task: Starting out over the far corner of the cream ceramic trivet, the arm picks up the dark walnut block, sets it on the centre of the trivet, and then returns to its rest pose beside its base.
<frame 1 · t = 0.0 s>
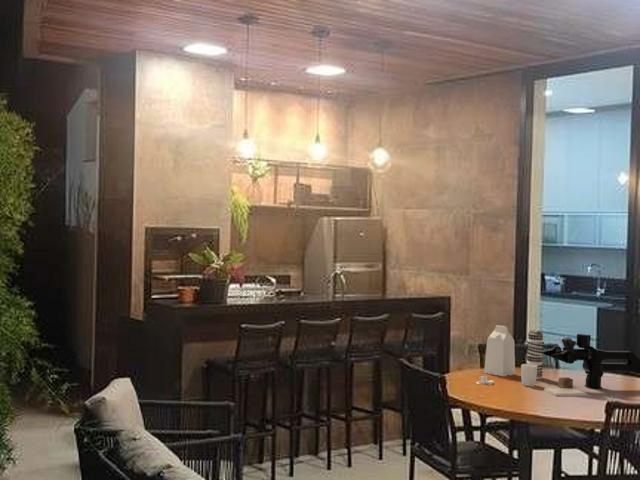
hand: (547, 354, 393), 17 cm above the table, tool horizontal, fingers open, 9 cm apart
teacup and saucer: (488, 385, 396), on the table
trivet: (565, 393, 380), on the table
decorative candle: (534, 377, 420), on the table
walnut block: (565, 388, 393), on the table
milk: (499, 374, 428), on the table
white cup: (528, 385, 398), on the table
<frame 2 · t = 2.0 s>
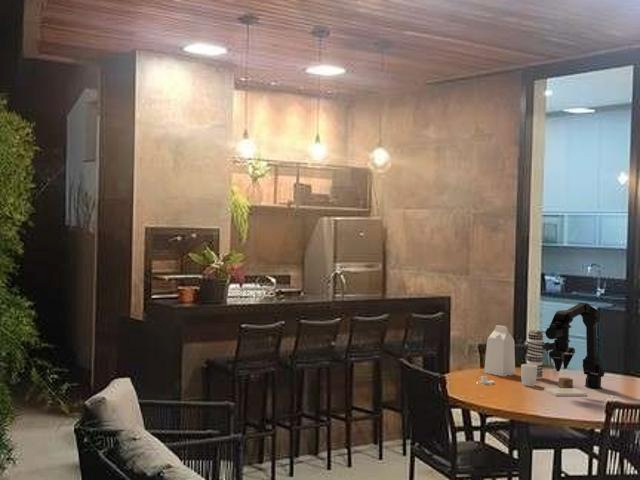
hand: (561, 370, 378), 12 cm above the table, tool pointing down, fingers open, 9 cm apart
nothing on the table moved.
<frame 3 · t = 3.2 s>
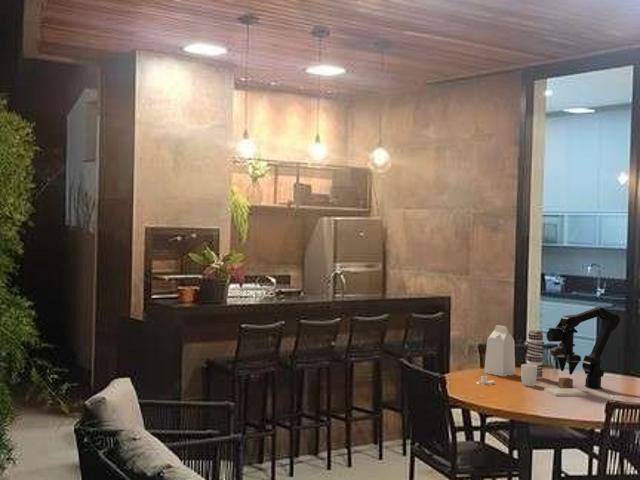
hand: (566, 372, 393), 8 cm above the table, tool pointing down, fingers open, 9 cm apart
nothing on the table moved.
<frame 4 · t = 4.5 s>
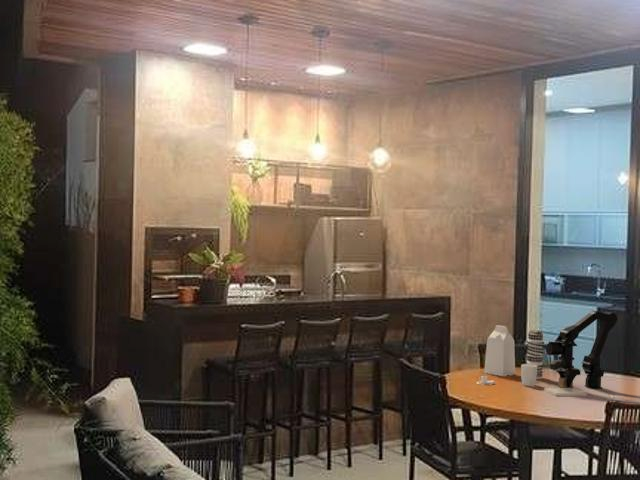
hand: (565, 386, 393), 1 cm above the table, tool pointing down, fingers closed on walnut block, 5 cm apart
walnut block: (565, 388, 393), on the table, touching gripper
everything else where it was.
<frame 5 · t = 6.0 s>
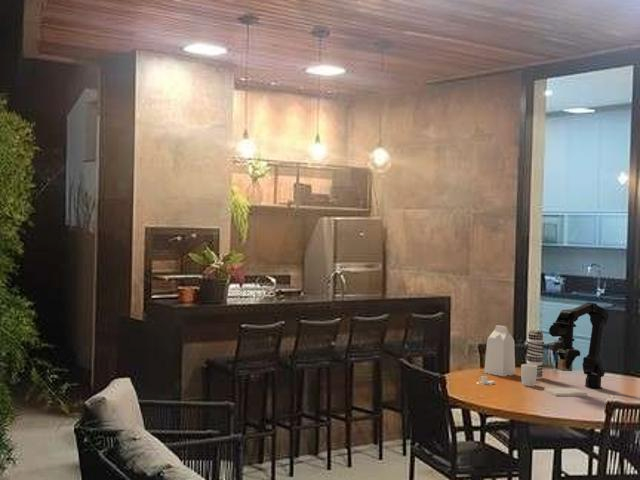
hand: (565, 368, 384), 12 cm above the table, tool pointing down, fingers closed on walnut block, 5 cm apart
walnut block: (564, 370, 384), point 11 cm above the table, touching gripper
everything else where it was.
when the fingers open (4 cm above the table, at t = 8.0 s): walnut block drops 2 cm, resting on trivet.
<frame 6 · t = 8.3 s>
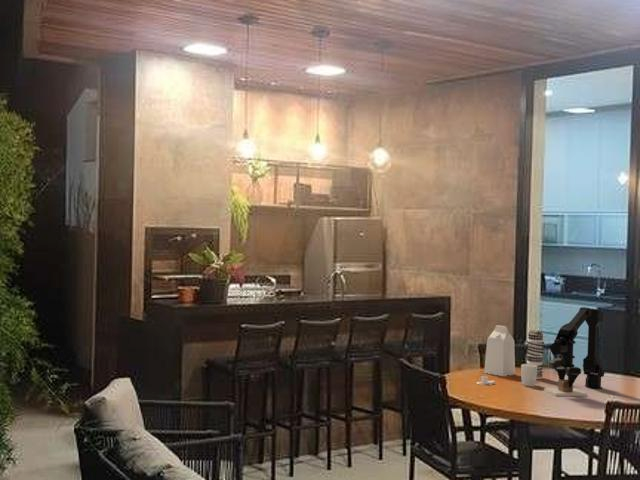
hand: (565, 385, 380), 4 cm above the table, tool pointing down, fingers open, 9 cm apart
walnut block: (565, 390, 380), point 1 cm above the table, touching trivet
everything else where it was.
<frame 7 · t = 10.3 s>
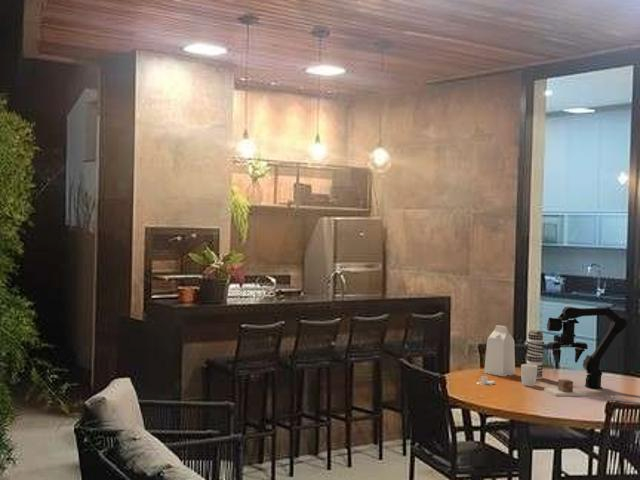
hand: (567, 362, 398), 12 cm above the table, tool pointing down, fingers open, 9 cm apart
nothing on the table moved.
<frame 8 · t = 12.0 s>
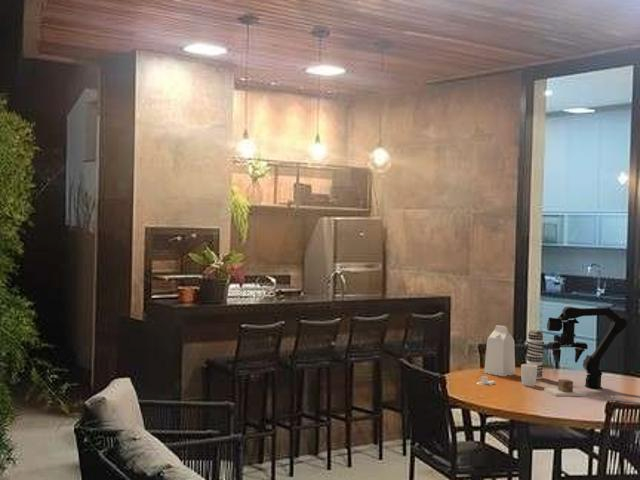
hand: (567, 362, 398), 12 cm above the table, tool pointing down, fingers open, 9 cm apart
nothing on the table moved.
at the end: walnut block inside the target area on the trivet (0.0 cm from its centre), point 1.2 cm above the trivet's base; walnut block tilted 0°; the gripper is holding nothing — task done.
